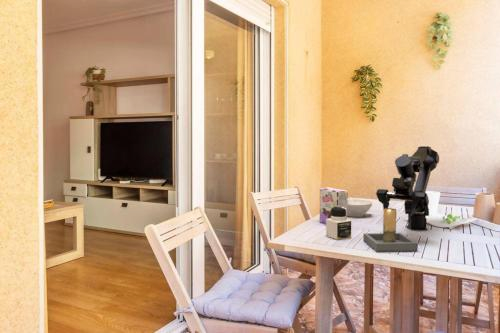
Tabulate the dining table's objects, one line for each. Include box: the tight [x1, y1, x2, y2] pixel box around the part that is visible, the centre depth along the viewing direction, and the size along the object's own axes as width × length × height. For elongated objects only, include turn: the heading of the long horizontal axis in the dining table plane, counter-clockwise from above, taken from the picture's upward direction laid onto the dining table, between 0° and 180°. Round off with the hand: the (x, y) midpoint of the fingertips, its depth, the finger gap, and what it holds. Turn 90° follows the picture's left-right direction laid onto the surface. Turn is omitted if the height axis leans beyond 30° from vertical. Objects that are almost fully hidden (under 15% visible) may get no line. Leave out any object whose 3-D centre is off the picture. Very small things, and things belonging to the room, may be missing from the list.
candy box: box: [319, 186, 349, 225], centre depth 177 cm, size 14×6×16 cm, turn 24°
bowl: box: [347, 198, 373, 218], centre depth 197 cm, size 16×16×7 cm
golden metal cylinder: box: [382, 207, 397, 243], centre depth 141 cm, size 4×4×13 cm
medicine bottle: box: [325, 207, 352, 241], centre depth 155 cm, size 7×7×12 cm
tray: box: [363, 232, 419, 253], centre depth 142 cm, size 14×14×3 cm
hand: (396, 215), depth 147 cm, fingers open, 9 cm apart
